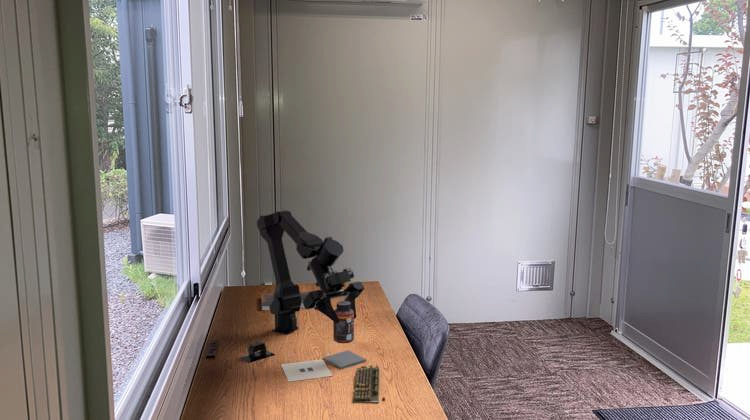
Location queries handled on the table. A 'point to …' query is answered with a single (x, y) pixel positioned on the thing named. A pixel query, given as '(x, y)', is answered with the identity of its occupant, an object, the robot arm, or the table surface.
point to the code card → (306, 370)
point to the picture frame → (269, 298)
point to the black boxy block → (258, 355)
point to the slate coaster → (344, 359)
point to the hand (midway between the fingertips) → (346, 320)
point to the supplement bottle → (344, 323)
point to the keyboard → (367, 385)
